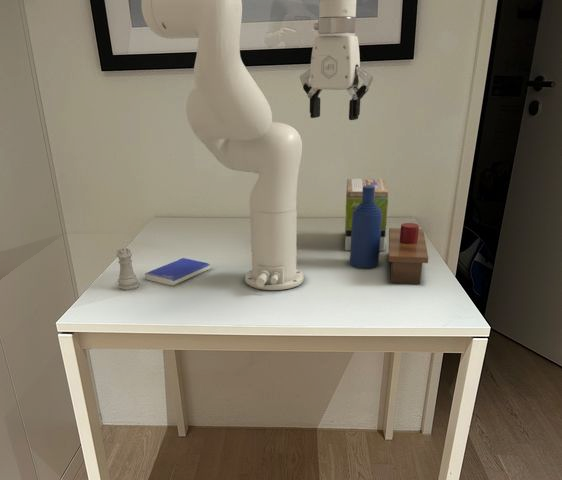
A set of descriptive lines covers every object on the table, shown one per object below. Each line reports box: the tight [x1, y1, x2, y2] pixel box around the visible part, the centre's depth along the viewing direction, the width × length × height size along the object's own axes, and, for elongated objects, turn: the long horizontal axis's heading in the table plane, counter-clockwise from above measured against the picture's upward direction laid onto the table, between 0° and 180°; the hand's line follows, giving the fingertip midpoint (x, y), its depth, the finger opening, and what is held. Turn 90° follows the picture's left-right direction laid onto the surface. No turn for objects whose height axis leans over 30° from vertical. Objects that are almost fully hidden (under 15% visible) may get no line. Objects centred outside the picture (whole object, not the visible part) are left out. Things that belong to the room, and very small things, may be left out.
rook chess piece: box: [115, 247, 140, 291], centre depth 121 cm, size 4×4×8 cm
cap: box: [400, 222, 420, 244], centre depth 128 cm, size 4×4×4 cm
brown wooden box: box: [388, 227, 429, 285], centre depth 131 cm, size 22×8×6 cm, turn 171°
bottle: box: [349, 185, 382, 270], centre depth 131 cm, size 7×7×18 cm
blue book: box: [144, 257, 211, 287], centre depth 129 cm, size 2×8×12 cm
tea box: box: [344, 178, 389, 252], centre depth 146 cm, size 15×10×15 cm, turn 175°
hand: (334, 118), depth 128 cm, fingers open, 9 cm apart
